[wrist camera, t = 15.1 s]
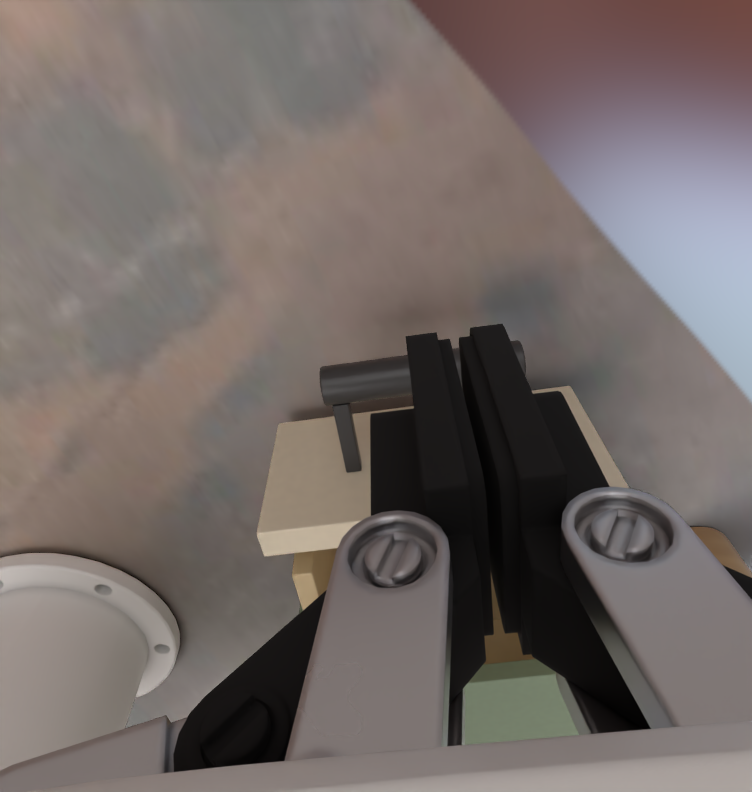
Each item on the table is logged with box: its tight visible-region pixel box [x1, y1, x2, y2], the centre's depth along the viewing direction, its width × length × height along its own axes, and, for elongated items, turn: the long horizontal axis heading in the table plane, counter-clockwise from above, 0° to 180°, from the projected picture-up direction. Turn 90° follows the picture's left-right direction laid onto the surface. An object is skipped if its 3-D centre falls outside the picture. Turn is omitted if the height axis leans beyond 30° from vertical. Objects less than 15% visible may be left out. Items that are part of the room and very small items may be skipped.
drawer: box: [257, 340, 629, 664], centre depth 26 cm, size 19×13×7 cm
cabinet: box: [299, 603, 579, 745], centre depth 32 cm, size 16×14×9 cm
